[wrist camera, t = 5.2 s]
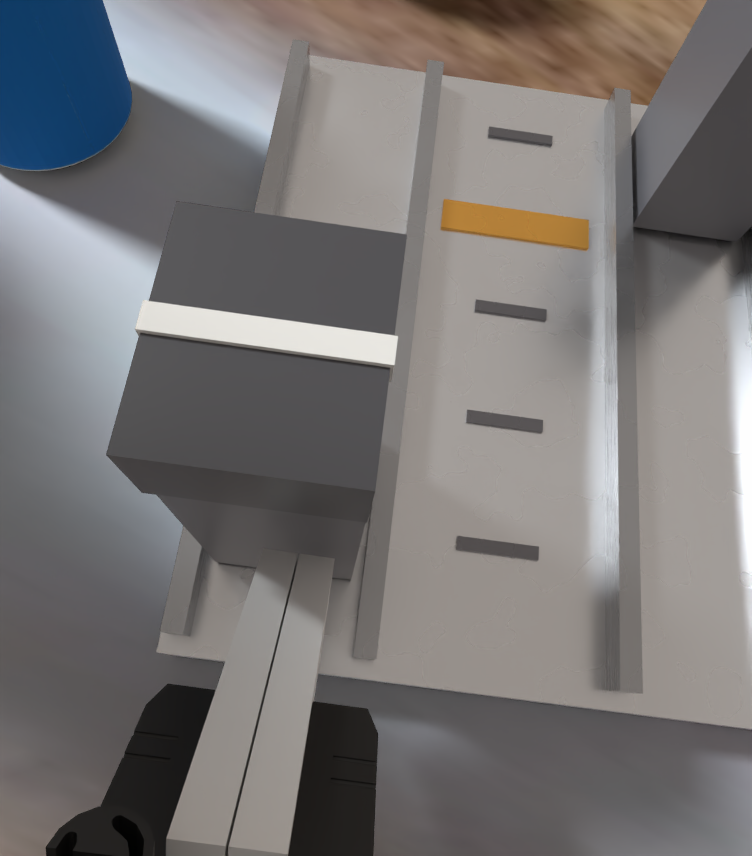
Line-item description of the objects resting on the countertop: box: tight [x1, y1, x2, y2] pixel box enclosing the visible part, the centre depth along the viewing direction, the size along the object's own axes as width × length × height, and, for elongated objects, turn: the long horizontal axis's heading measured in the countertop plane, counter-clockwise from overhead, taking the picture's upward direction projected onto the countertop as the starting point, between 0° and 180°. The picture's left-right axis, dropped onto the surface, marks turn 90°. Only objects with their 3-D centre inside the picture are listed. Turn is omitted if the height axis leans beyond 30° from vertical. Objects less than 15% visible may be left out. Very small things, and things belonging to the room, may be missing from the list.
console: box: [156, 40, 752, 730], centre depth 23 cm, size 18×22×3 cm
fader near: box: [106, 201, 407, 580], centre depth 15 cm, size 4×4×10 cm
